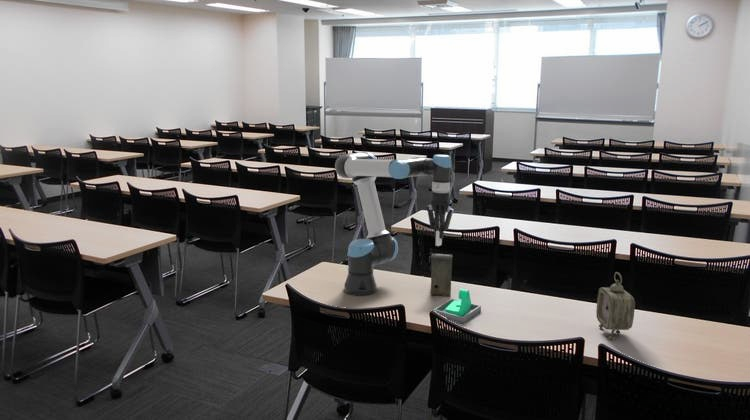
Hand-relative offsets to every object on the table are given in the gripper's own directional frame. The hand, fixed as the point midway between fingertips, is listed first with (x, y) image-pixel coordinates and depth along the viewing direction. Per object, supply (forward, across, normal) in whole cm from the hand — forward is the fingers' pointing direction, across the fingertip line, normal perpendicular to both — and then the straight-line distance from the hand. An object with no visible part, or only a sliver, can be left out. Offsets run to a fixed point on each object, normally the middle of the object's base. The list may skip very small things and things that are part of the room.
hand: (438, 245), depth 244 cm
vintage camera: (+27, -6, +14) cm, 31 cm away
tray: (+26, +13, -5) cm, 30 cm away
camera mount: (+26, +13, -5) cm, 30 cm away
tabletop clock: (+27, +71, +14) cm, 77 cm away
